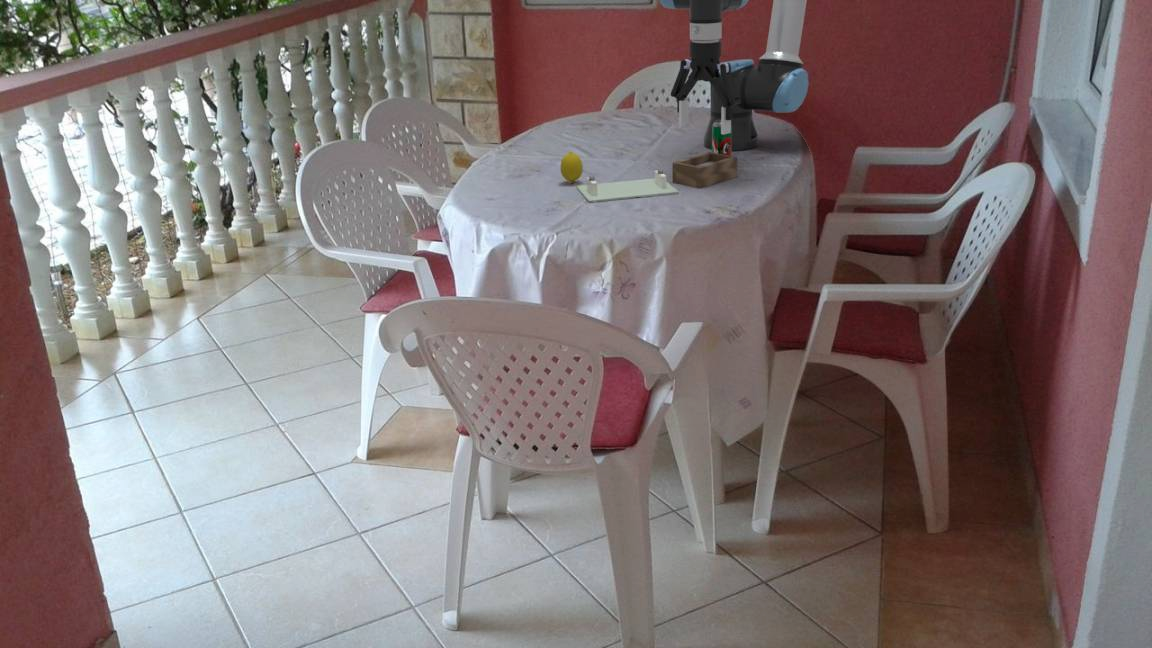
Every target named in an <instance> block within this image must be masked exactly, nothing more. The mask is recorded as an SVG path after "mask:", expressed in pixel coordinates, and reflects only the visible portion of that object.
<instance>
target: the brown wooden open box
mask: <svg viewBox="0 0 1152 648" xmlns="http://www.w3.org/2000/svg"><path fill="white" fill-rule="evenodd" d="M671 165H672V183H673V184H678V185H682V186H687V187H692V188H697V189H703V188H706V187H710V186H712V185H715V184H718V183H722V182H725V181H727V180H731V179H734V178H737V177H738V157H737V156H733V155H732V156H728V155H723V154H717V153H712V151H709V152H705V153H702V154H698V155H695V156H692V157H688V158H684V159H681V160H677V161H674V162H672V164H671Z"/></svg>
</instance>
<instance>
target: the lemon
mask: <svg viewBox="0 0 1152 648" xmlns="http://www.w3.org/2000/svg"><path fill="white" fill-rule="evenodd" d="M583 166H584V165H583V162H582V159H581V157H580V156H579V155H578V154H576V153H573V151H569V153H567V154H565V155H564V156H563V157H562V159H561V162H560V173H561V175H562V177H563V179H564V180H566V181H568V182H569V183H570V184H574V183H575V182H576V181H577V180H579V179H580V177H582V174H583V169H584V168H583Z"/></svg>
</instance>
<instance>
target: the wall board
mask: <svg viewBox="0 0 1152 648" xmlns="http://www.w3.org/2000/svg"><path fill="white" fill-rule="evenodd" d="M667 180H668V179H667V175H666V174H665V173H664V169H657V170H654V178H645V179H636V180H625V181H615V182H604V183H598V182H597V181H596V178H595V176H593V175H591V176H588V177H586V184H585V185H584V184H583V185H576V186H575V187H576V189H577V190H578V191H580V192H581V193H582V194H583V195H582V194H581V195H582V196H583V197H584V199H585V198H586V199H587V200H588V201H589V202H593V203H595V202H594V201H602V202H608V201H607V200H612V201H617V200H616V199H622V200H626V199H625V198H632V199H636V198H635V197H641V198H648V197H647V196H651V197H659V196H660V195H661V196H669V194H670V195H677V194H679V192H680V191H679V190H677V189H676V188H675V187H674V186H672V185H671V183H669V182H668V181H667ZM580 192H579V193H580ZM586 199H585V200H586ZM587 200H586V201H587ZM588 201H587V202H588ZM589 202H588V203H589Z"/></svg>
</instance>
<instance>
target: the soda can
mask: <svg viewBox="0 0 1152 648" xmlns="http://www.w3.org/2000/svg"><path fill="white" fill-rule="evenodd" d="M711 152H712V153H717V154H723V155H728V156H733V154H732V153H733V150H732V124H731V133H728V134H724V135H723V134H721V120H716V121H714V124H713V125H712V149H711Z"/></svg>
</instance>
